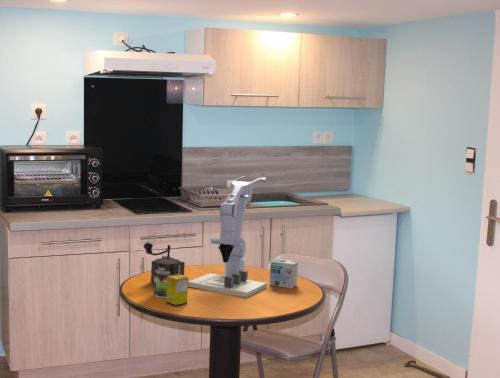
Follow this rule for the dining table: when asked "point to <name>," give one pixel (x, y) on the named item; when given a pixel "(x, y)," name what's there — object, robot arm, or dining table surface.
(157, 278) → the coffee can
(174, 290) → the supplement box
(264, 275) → the dining table surface
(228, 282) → the handle
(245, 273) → the handle
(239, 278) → the dark gray block
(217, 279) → the breaker board
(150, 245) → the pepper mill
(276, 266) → the light bulb box
